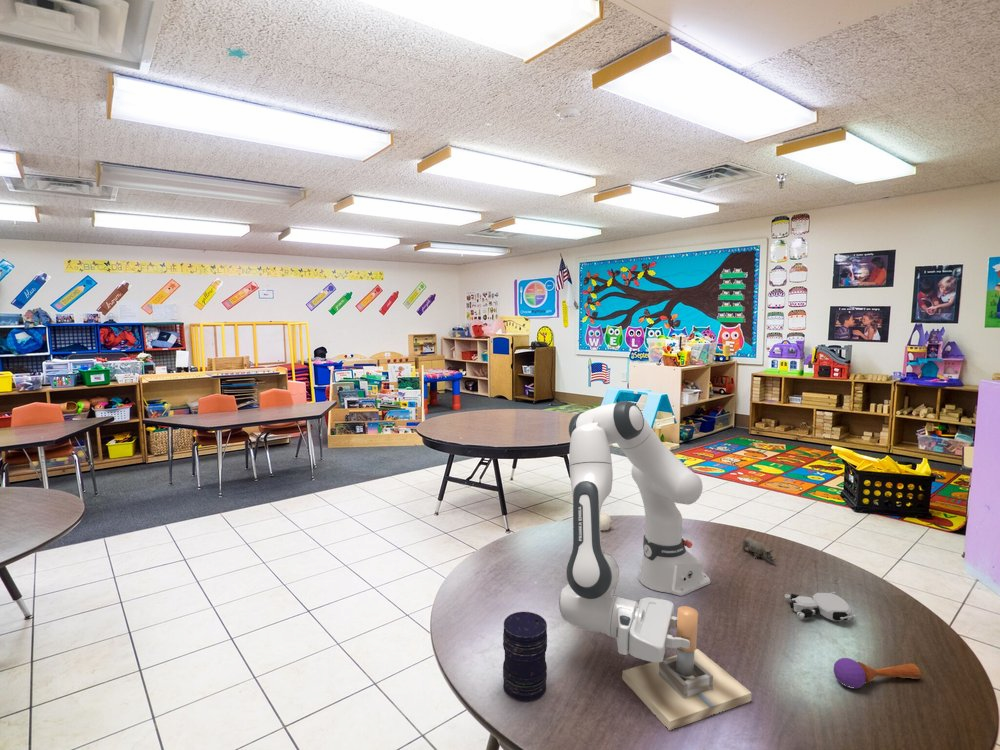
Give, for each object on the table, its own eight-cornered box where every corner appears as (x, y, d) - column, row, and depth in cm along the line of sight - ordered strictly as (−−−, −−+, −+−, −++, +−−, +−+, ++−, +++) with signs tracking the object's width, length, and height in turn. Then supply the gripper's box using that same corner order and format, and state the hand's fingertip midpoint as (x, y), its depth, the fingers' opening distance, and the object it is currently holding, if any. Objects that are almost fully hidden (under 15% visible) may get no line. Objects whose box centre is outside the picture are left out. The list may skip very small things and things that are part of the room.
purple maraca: (930, 672, 113) (852, 673, 110) (921, 692, 115) (844, 695, 112) (906, 650, 119) (831, 652, 116) (898, 670, 121) (824, 672, 118)
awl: (685, 662, 115) (688, 604, 114) (699, 674, 111) (702, 614, 110) (670, 667, 113) (673, 608, 112) (683, 679, 110) (687, 618, 108)
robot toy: (798, 627, 138) (859, 629, 135) (798, 611, 138) (859, 613, 135) (782, 602, 150) (837, 604, 147) (781, 588, 150) (837, 589, 147)
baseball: (598, 524, 206) (598, 508, 206) (614, 529, 202) (614, 513, 201) (589, 529, 201) (590, 513, 200) (606, 534, 196) (606, 518, 196)
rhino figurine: (770, 568, 170) (771, 551, 169) (738, 551, 183) (739, 535, 182) (779, 566, 171) (780, 549, 170) (747, 549, 184) (748, 533, 183)
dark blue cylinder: (514, 708, 107) (514, 642, 106) (495, 678, 116) (496, 617, 115) (554, 694, 111) (555, 630, 110) (534, 667, 120) (534, 607, 119)
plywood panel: (697, 656, 124) (698, 637, 124) (751, 701, 109) (752, 679, 109) (622, 678, 116) (622, 658, 116) (669, 730, 101) (670, 707, 101)
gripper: (635, 610, 127) (694, 624, 121) (617, 658, 108) (685, 678, 102) (636, 586, 126) (695, 599, 120) (618, 630, 108) (687, 649, 102)
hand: (691, 636), depth 111 cm, fingers closed on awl, 4 cm apart
